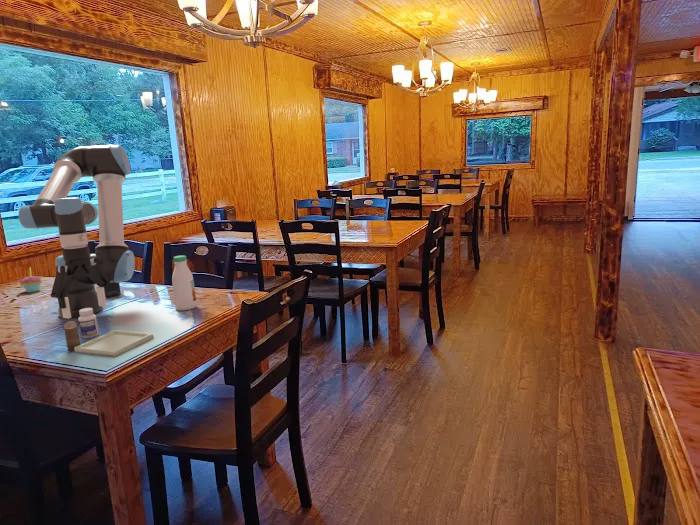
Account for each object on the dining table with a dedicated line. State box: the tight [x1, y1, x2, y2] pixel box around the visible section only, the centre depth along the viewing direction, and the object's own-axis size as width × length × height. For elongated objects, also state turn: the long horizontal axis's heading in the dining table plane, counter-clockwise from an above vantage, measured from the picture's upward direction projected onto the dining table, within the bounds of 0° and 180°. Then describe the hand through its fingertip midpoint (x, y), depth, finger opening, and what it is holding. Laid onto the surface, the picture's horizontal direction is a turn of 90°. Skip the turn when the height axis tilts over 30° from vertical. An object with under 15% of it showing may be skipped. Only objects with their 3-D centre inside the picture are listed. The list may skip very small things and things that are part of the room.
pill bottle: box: [77, 308, 100, 339], centre depth 164 cm, size 5×5×9 cm
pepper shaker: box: [63, 320, 82, 353], centre depth 152 cm, size 4×4×9 cm
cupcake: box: [19, 267, 43, 293], centre depth 231 cm, size 9×8×12 cm
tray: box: [74, 329, 154, 358], centre depth 154 cm, size 16×16×2 cm
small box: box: [105, 282, 121, 298], centre depth 218 cm, size 11×6×10 cm, turn 34°
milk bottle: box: [171, 255, 197, 311], centre depth 188 cm, size 8×8×20 cm
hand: (85, 311), depth 163 cm, fingers open, 13 cm apart
